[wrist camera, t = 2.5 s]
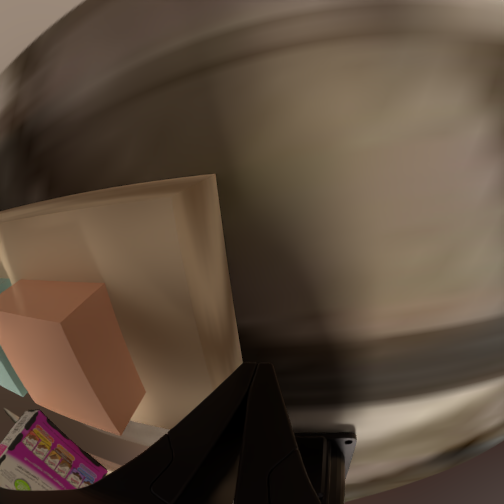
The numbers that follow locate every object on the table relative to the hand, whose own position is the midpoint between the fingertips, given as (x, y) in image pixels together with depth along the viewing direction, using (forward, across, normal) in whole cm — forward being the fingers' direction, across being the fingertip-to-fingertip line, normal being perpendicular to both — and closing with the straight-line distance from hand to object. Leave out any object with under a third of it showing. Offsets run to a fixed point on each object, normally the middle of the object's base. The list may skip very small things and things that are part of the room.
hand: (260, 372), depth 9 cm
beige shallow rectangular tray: (+5, +10, 0) cm, 11 cm away
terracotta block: (+1, +8, 0) cm, 8 cm away
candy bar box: (+5, +25, +21) cm, 33 cm away
